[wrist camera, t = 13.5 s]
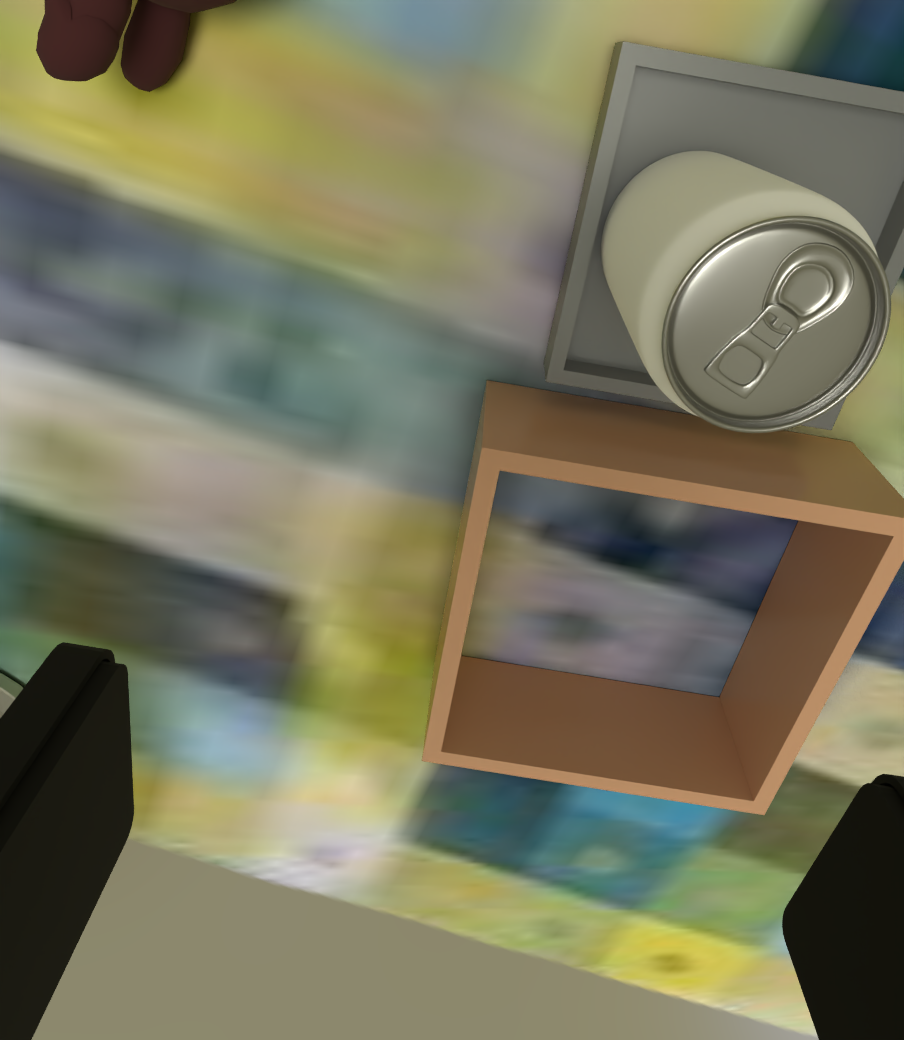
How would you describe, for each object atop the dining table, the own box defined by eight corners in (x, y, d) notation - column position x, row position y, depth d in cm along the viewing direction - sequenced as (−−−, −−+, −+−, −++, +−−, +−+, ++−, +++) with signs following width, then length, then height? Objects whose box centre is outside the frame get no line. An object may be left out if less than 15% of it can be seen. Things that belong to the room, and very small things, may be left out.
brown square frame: (728, 710, 43) (764, 815, 37) (434, 662, 43) (422, 760, 37) (852, 442, 35) (924, 521, 29) (486, 380, 34) (482, 447, 28)
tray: (812, 408, 34) (831, 430, 32) (543, 363, 34) (545, 381, 32) (942, 102, 28) (975, 105, 26) (615, 42, 28) (623, 41, 26)
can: (807, 213, 29) (969, 294, 19) (692, 352, 32) (778, 488, 22) (673, 110, 28) (769, 138, 18) (565, 266, 31) (594, 367, 20)
